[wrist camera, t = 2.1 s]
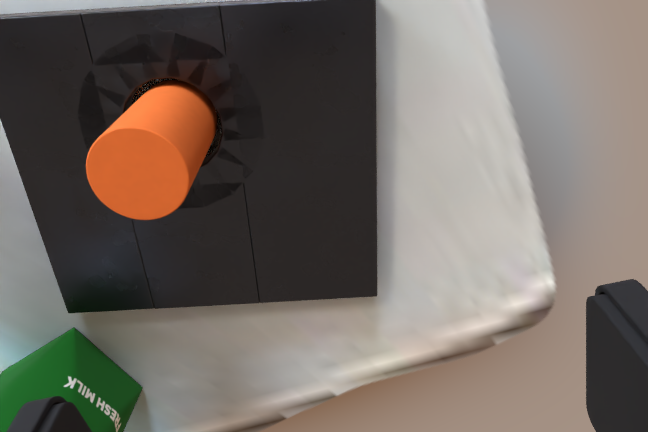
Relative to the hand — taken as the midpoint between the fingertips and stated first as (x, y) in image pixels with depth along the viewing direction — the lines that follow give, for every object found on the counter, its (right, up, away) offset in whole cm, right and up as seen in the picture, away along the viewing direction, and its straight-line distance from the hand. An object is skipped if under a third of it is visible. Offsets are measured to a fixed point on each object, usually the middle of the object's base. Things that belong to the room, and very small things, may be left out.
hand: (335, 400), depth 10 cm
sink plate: (-7, +6, +22) cm, 24 cm away
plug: (-8, +9, +20) cm, 24 cm away
